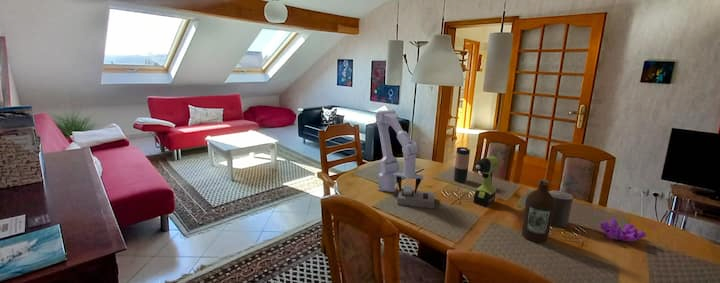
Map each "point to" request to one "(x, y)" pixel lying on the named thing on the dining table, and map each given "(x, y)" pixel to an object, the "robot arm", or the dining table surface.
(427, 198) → the socket block
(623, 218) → the dining table surface
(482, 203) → the cordless drill
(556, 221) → the pillar candle
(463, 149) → the travel mug
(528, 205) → the olive oil
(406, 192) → the square peg
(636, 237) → the purple coral
